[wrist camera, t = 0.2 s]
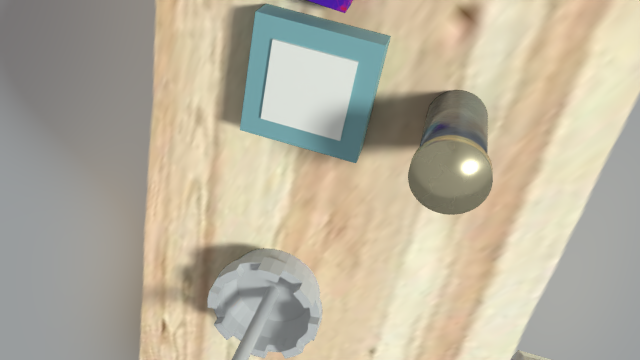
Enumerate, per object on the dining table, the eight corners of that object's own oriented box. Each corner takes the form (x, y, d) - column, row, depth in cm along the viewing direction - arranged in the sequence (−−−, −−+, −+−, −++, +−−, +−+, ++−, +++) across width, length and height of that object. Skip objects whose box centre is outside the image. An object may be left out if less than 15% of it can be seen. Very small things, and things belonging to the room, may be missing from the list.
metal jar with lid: (433, 78, 56) (420, 131, 46) (501, 96, 55) (504, 155, 45) (415, 138, 59) (399, 201, 49) (479, 156, 59) (477, 223, 48)
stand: (265, 3, 57) (254, 12, 54) (390, 36, 55) (385, 46, 52) (250, 118, 63) (238, 131, 60) (361, 149, 61) (355, 164, 59)
